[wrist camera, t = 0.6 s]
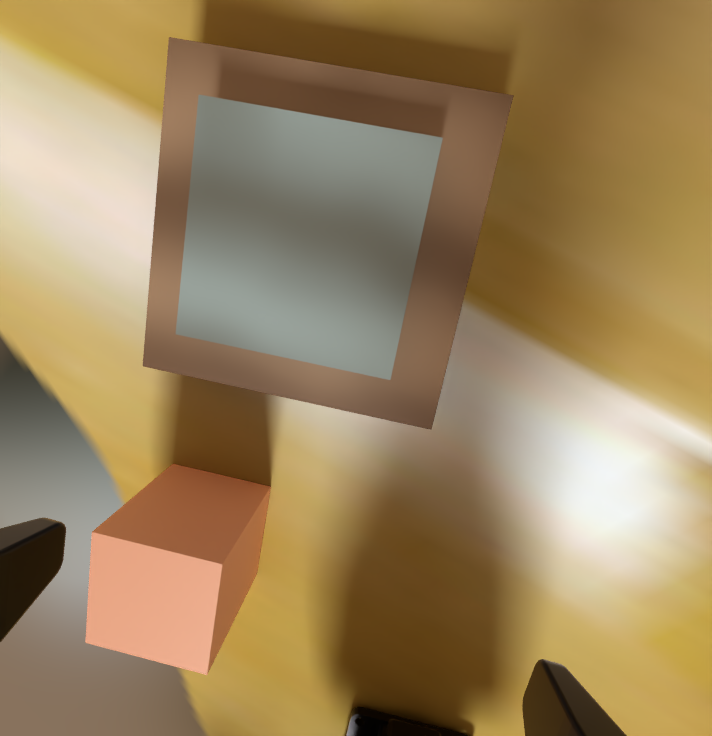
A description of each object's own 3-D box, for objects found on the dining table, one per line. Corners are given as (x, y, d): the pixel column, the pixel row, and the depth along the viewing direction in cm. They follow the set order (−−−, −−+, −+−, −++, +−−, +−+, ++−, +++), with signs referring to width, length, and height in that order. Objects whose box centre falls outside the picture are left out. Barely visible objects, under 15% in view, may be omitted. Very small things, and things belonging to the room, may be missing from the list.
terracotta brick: (257, 573, 24) (206, 674, 18) (164, 550, 24) (85, 642, 18) (271, 486, 22) (222, 564, 17) (173, 463, 23) (91, 531, 17)
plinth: (428, 409, 20) (433, 444, 17) (173, 354, 21) (120, 374, 17) (499, 118, 18) (524, 77, 14) (200, 66, 18) (145, 15, 15)
